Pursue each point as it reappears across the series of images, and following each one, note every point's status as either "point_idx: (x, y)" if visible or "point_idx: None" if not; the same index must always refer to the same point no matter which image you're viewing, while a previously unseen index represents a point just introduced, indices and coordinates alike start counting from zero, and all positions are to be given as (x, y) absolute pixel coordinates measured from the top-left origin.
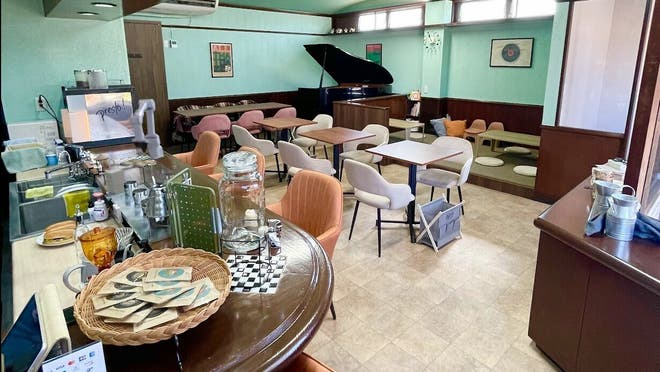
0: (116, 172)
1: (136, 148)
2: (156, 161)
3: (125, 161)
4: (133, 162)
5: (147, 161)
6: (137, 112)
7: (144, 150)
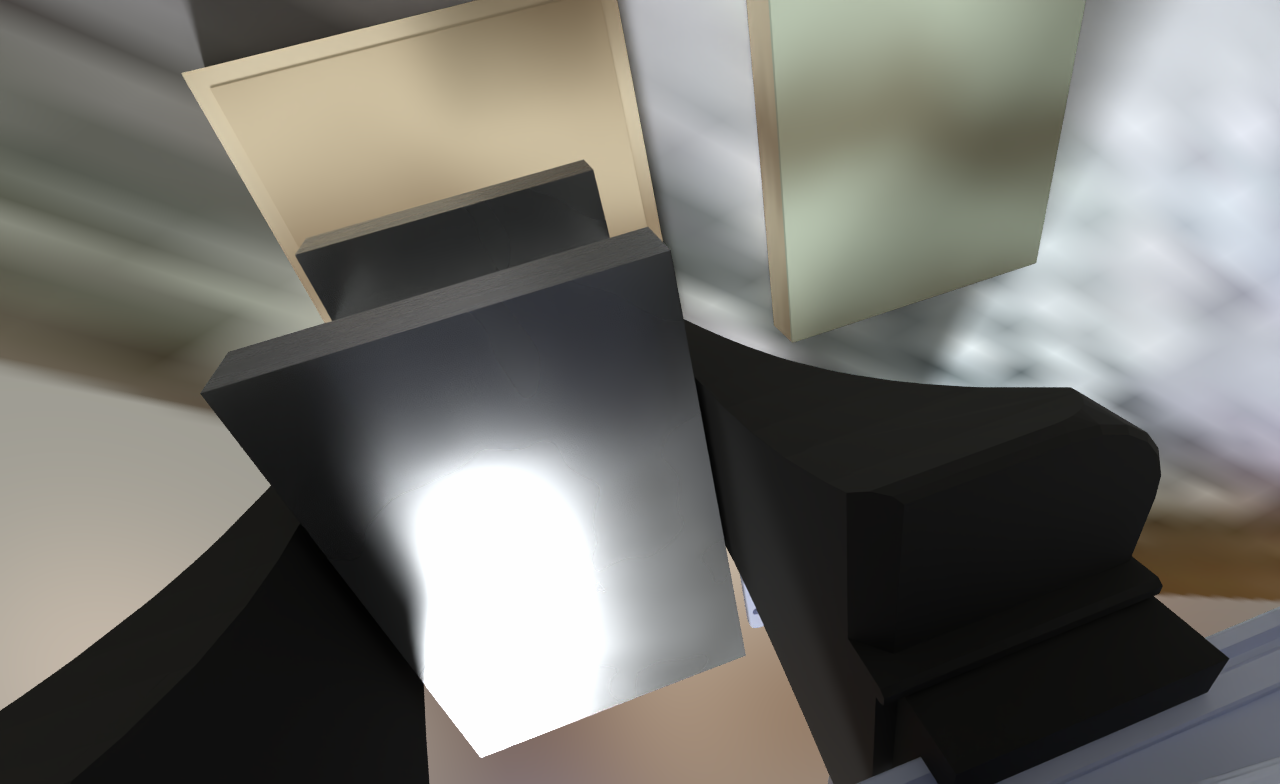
0: None
1: (540, 269)
2: None
3: (1064, 36)
4: (787, 98)
5: None
6: None
7: None
